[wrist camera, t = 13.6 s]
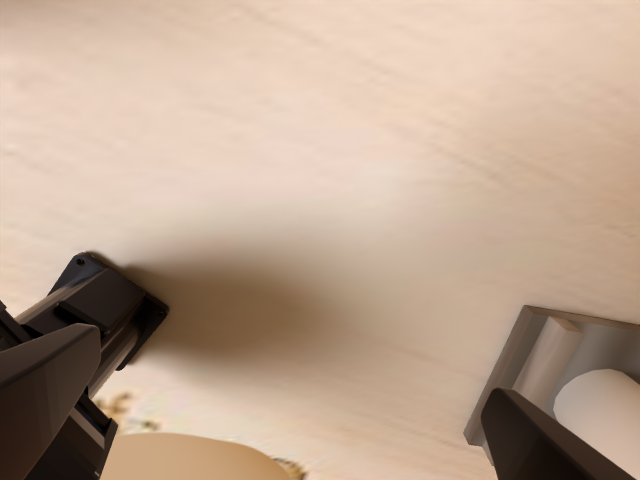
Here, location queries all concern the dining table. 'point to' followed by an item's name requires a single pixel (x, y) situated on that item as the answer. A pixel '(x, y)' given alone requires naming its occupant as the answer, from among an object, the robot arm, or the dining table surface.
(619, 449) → the white cup
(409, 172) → the dining table surface
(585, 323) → the holder
